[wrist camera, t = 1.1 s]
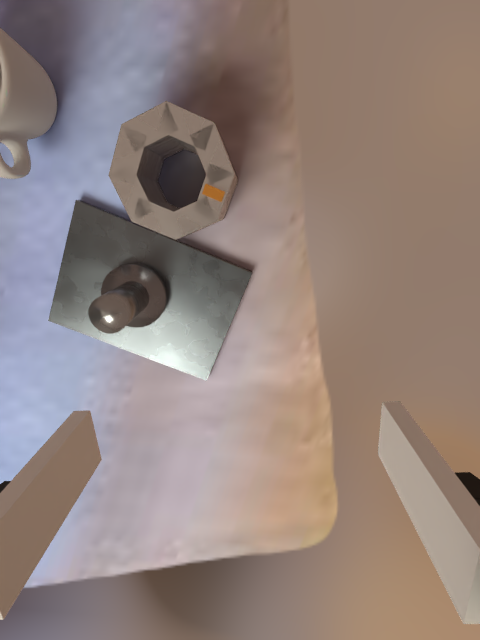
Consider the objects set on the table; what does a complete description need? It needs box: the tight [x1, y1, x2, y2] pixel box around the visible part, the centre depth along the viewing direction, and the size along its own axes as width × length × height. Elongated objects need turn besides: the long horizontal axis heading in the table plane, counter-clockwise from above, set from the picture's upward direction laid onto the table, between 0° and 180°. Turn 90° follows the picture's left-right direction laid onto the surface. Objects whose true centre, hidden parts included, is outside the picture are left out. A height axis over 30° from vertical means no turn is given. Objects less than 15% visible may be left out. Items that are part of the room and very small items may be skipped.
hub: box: [109, 101, 238, 240], centre depth 28 cm, size 9×9×6 cm
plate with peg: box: [48, 200, 252, 381], centre depth 31 cm, size 18×13×8 cm
